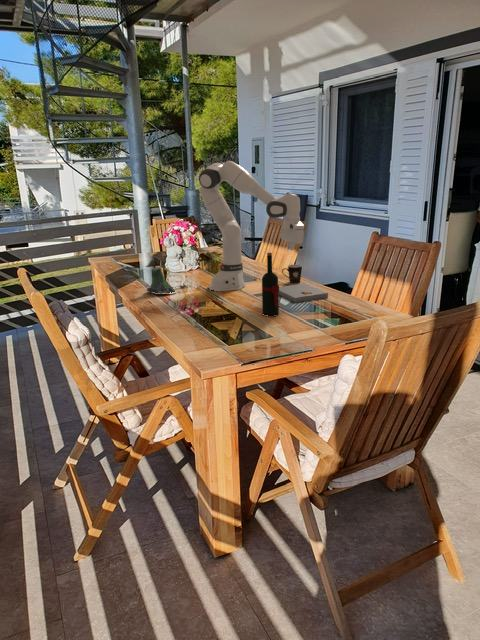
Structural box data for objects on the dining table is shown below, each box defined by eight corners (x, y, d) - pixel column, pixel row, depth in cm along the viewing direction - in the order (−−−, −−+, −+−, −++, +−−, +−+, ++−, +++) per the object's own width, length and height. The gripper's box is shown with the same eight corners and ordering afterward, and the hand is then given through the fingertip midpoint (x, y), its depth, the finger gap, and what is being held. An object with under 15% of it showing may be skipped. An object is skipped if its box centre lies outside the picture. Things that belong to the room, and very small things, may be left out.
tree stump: (187, 292, 281) (179, 264, 273) (157, 306, 273) (148, 278, 265) (174, 285, 296) (165, 258, 288) (145, 298, 288) (135, 271, 279)
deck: (295, 302, 251) (295, 297, 250) (273, 292, 273) (273, 287, 272) (327, 297, 258) (328, 292, 257) (304, 287, 280) (304, 283, 279)
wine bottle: (271, 318, 226) (269, 255, 217) (259, 313, 234) (257, 252, 225) (284, 315, 230) (284, 253, 220) (272, 310, 238) (271, 250, 229)
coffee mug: (303, 280, 296) (303, 264, 293) (299, 284, 289) (299, 267, 286) (286, 279, 301) (285, 264, 298) (281, 282, 294) (281, 266, 291)
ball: (303, 298, 260) (306, 297, 256) (302, 292, 260) (305, 291, 256) (308, 297, 261) (312, 297, 258) (307, 291, 261) (311, 290, 258)
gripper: (277, 222, 269) (277, 247, 273) (295, 226, 251) (295, 252, 255) (287, 222, 271) (287, 246, 275) (306, 225, 253) (305, 252, 257)
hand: (291, 249), depth 265 cm, fingers closed
